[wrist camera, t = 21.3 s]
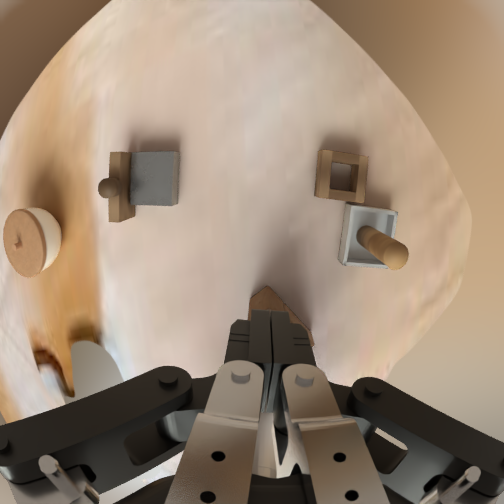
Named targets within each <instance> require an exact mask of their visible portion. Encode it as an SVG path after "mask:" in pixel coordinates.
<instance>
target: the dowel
mask: <svg viewBox="0 0 504 504" xmlns="http://www.w3.org/2000/svg"><path fill="white" fill-rule="evenodd" d="M356 239H357V242H358V243H359V244H360V245H361V246H362V247H364V248H365V249H366V250H368V251H369V252H370V253H371V254H373V255H374V256H375V257H376V258H378V259H379V260H380V261H381V262H383V263H384V264H385V265H386V266H388V267H389V268H390V269H392V270H398V269H400V268H402V267H403V266H404V265H405V264H406V262H407V260H408V256H409V253H408V249H407V247H406V246H405V245H404V244H402V243H400V242H398V241H397V240H395V239H393V238H391V237H389V236H388V235H386V234H384V233H382V232H380V231H378V230H377V229H375V228H373V227H371V226H368V225H365V226H362V227H361V228H360V229H359V230H358V231H357V234H356Z"/></svg>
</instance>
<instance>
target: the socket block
mask: <svg viewBox="0 0 504 504" xmlns="http://www.w3.org/2000/svg"><path fill="white" fill-rule="evenodd" d="M332 162H335V163H342V164H348V165H352V168H351V179H350V189H349V191H344V190H337V189H329V186H330V176H331V164H332ZM367 168H368V157H366V156H361V155H355V154H349V153H343V152H337V151H331V150H324V149H323V150H320V151H318V161H317V172H316V183H315V194H314V196H316V197H319V198H326V199H335V200H343V201H350V202H358V203H364V198H365V189H366V179H367Z"/></svg>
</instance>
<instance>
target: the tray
mask: <svg viewBox="0 0 504 504" xmlns="http://www.w3.org/2000/svg"><path fill="white" fill-rule="evenodd" d="M397 216H398V212H396V211H393V210H390V209H383V208H377V207H370V206H363V205H355V204H348V203H346V206H345V214H344V222H343V229H342V236H341V243H340V250H339V256H338V260H339V262H340V263H341V264H342V265H345V266H358V267H372V268H385V269H388V266H386V265H385V264H384V263H383V262H381V261H380V260H379V259H378V258H376V257H375V256H374V255H373V254H371V253H370V252H369V251H368V250H366V249H365V248H364V247H362V246H361V245H360V244H359V243H358V242H357V239H356V234H357V231H358V230H359V229H360V228H361V227H362V226H365V225H368V226H371V227H373V228H375V229H377V230H378V231H380V232H382V233H384V234H386V235H388V236H389V237H391V238H393V239H394V235H395V229H396V223H397Z"/></svg>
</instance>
